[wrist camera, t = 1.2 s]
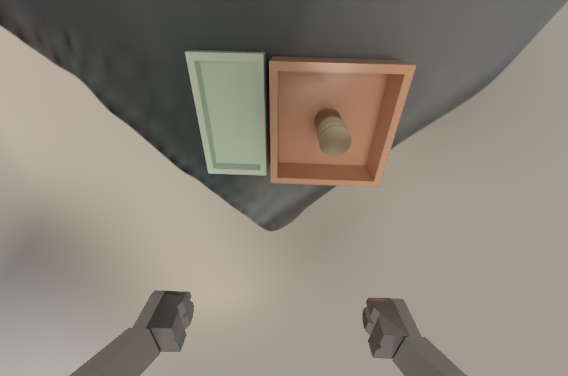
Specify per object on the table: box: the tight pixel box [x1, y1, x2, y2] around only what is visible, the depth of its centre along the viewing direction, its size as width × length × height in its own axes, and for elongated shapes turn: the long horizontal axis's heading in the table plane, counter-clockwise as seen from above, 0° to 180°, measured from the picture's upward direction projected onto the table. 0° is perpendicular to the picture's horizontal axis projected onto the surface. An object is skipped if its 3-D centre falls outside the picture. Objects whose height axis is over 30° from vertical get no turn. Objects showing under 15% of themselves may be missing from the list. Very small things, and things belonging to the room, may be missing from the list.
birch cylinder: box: [315, 108, 351, 157], centre depth 32 cm, size 4×4×8 cm
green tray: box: [185, 50, 268, 176], centre depth 35 cm, size 18×10×3 cm, turn 179°
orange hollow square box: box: [269, 56, 416, 187], centre depth 34 cm, size 17×17×6 cm
